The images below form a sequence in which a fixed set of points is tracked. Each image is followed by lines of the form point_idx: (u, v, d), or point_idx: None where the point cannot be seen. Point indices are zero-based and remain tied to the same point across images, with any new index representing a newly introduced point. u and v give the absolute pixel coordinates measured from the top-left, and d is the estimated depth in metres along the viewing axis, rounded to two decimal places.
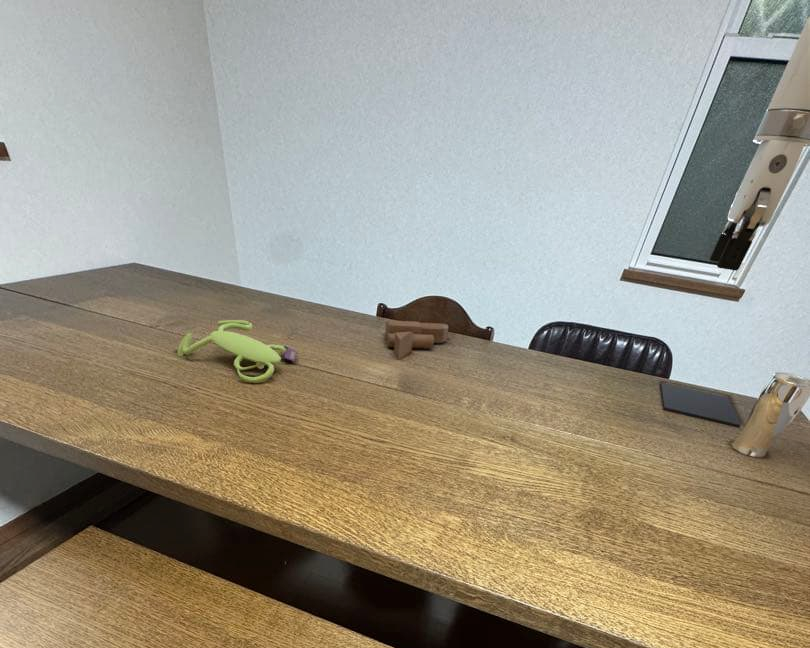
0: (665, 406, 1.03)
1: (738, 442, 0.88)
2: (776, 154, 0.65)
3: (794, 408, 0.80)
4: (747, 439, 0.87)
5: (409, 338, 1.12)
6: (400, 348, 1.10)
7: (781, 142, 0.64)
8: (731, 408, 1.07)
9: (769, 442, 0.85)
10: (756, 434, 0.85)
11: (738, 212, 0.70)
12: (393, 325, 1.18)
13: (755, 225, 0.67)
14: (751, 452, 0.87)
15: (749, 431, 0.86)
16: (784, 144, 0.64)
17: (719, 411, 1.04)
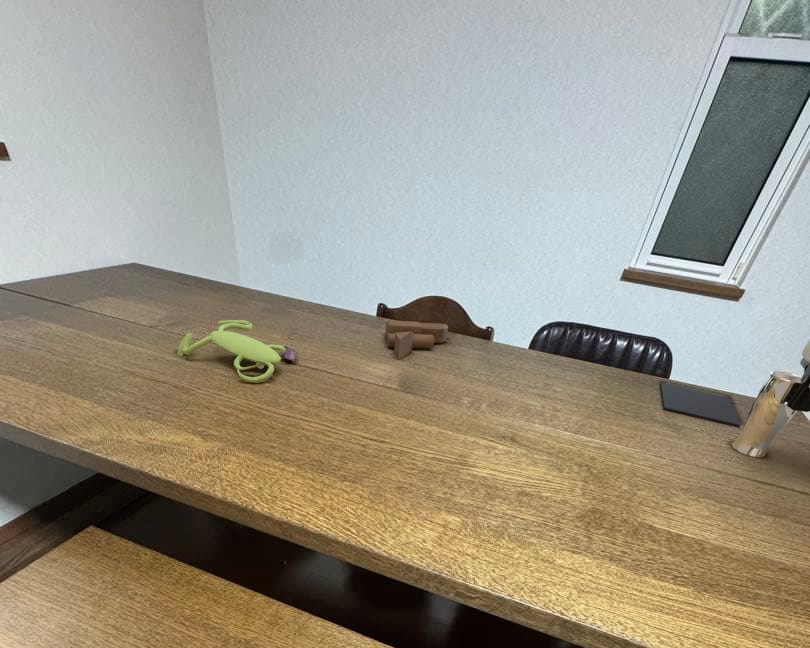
0: (665, 406, 1.03)
1: (738, 441, 0.88)
2: None
3: None
4: (747, 438, 0.87)
5: (409, 338, 1.12)
6: (400, 348, 1.10)
7: None
8: (731, 408, 1.07)
9: (769, 441, 0.85)
10: (756, 433, 0.85)
11: None
12: (393, 325, 1.18)
13: None
14: (751, 451, 0.87)
15: (748, 430, 0.86)
16: None
17: (719, 411, 1.04)
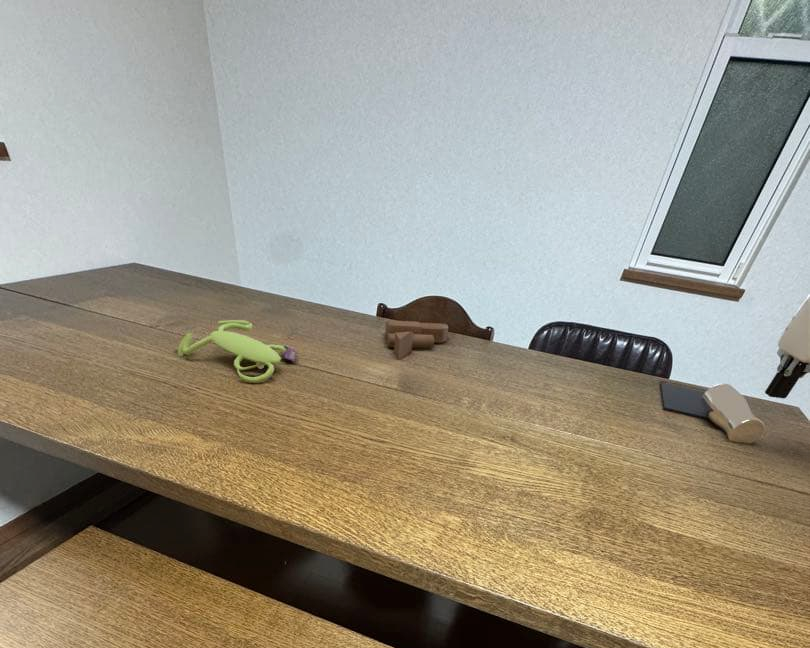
0: (665, 406, 1.03)
1: (729, 425, 0.91)
2: None
3: (736, 391, 0.95)
4: (732, 418, 0.91)
5: (409, 338, 1.12)
6: (400, 348, 1.10)
7: None
8: None
9: (751, 413, 0.91)
10: (733, 411, 0.92)
11: (808, 355, 0.75)
12: (393, 325, 1.18)
13: None
14: (746, 417, 0.89)
15: (726, 416, 0.93)
16: None
17: None
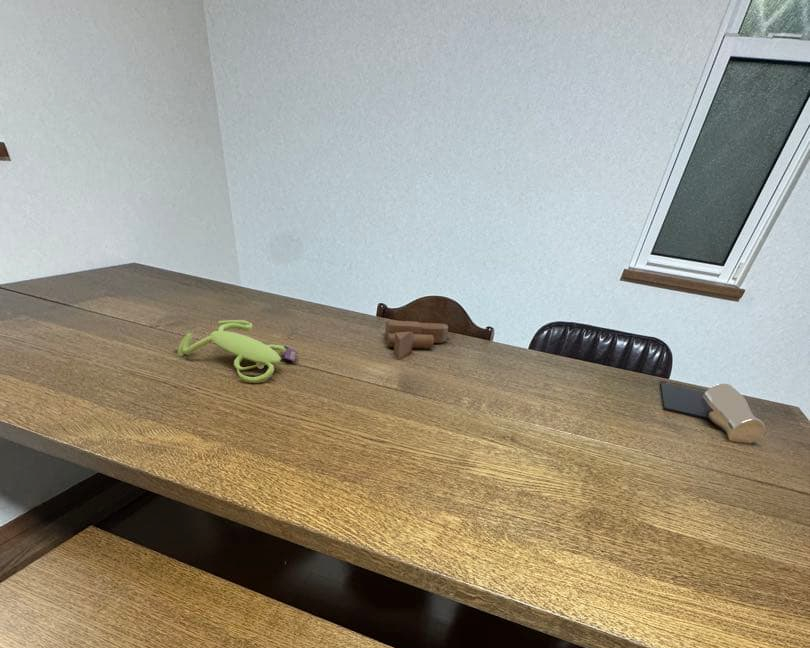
0: (665, 406, 1.03)
1: (729, 425, 0.91)
2: None
3: (736, 391, 0.95)
4: (732, 418, 0.91)
5: (409, 338, 1.12)
6: (400, 348, 1.10)
7: None
8: None
9: (750, 413, 0.91)
10: (733, 411, 0.92)
11: None
12: (393, 325, 1.18)
13: None
14: (745, 417, 0.89)
15: (726, 416, 0.93)
16: None
17: None
